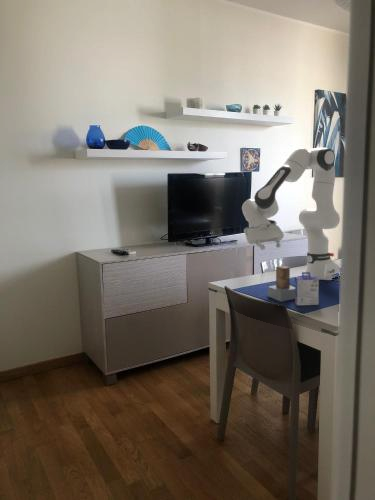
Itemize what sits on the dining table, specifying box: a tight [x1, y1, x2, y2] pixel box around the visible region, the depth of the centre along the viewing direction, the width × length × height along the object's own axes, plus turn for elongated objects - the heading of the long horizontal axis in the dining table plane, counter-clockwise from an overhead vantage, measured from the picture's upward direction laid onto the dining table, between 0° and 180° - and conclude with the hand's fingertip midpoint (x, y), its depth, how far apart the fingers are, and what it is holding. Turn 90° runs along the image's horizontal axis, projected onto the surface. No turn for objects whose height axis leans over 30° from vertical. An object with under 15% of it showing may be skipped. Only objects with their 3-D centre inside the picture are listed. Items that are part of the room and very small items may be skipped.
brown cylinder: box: [275, 265, 291, 289], centre depth 197 cm, size 4×4×10 cm
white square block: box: [267, 284, 295, 303], centre depth 199 cm, size 10×10×5 cm
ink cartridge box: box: [294, 271, 320, 306], centre depth 187 cm, size 10×6×14 cm, turn 89°
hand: (271, 247), depth 203 cm, fingers open, 8 cm apart
